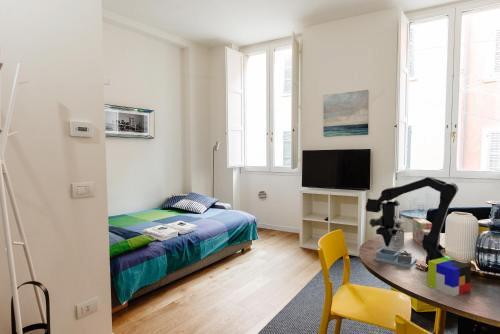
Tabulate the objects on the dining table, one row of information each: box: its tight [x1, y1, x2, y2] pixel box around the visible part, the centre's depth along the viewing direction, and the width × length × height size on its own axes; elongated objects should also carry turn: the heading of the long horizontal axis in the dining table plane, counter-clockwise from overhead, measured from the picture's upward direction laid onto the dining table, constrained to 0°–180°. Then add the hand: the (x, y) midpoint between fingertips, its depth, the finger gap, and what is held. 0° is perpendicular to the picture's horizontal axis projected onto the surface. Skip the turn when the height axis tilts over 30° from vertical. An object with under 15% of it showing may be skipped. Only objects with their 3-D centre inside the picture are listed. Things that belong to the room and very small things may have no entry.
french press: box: [393, 200, 407, 249], centre depth 172 cm, size 10×12×25 cm
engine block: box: [381, 235, 396, 250], centre depth 152 cm, size 5×4×7 cm
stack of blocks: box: [412, 217, 433, 248], centre depth 173 cm, size 21×6×12 cm, turn 170°
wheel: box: [398, 251, 413, 262], centre depth 145 cm, size 6×6×2 cm
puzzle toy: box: [427, 256, 472, 297], centre depth 120 cm, size 10×10×10 cm
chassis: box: [374, 247, 418, 269], centre depth 150 cm, size 16×11×4 cm
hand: (388, 245), depth 152 cm, fingers closed on engine block, 4 cm apart
